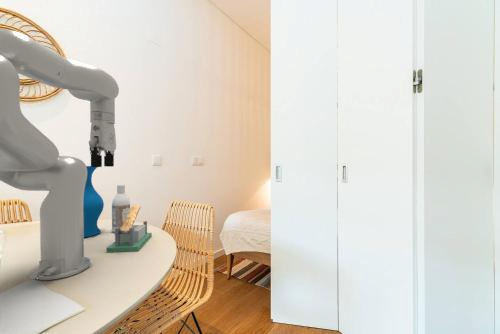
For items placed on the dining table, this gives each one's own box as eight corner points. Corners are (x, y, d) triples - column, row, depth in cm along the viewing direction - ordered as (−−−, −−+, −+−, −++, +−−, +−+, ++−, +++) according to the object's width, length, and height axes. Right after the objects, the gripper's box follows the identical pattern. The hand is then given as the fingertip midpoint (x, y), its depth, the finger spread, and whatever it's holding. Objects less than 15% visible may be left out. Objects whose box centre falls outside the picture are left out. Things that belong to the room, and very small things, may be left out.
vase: (110, 231, 103) (110, 166, 102) (84, 240, 91) (83, 166, 90) (88, 229, 106) (87, 165, 105) (59, 238, 94) (58, 166, 93)
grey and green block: (138, 251, 81) (138, 229, 81) (106, 252, 80) (106, 230, 80) (151, 236, 97) (151, 217, 97) (125, 237, 96) (125, 218, 95)
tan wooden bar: (129, 234, 82) (129, 232, 82) (119, 235, 82) (118, 232, 81) (141, 207, 94) (140, 204, 93) (132, 207, 94) (131, 205, 93)
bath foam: (119, 234, 99) (119, 185, 99) (108, 232, 102) (107, 185, 102) (133, 229, 106) (133, 184, 105) (122, 227, 108) (122, 183, 108)
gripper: (102, 114, 78) (103, 167, 78) (123, 123, 95) (123, 166, 96) (77, 113, 77) (78, 167, 77) (102, 122, 94) (102, 166, 95)
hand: (103, 166), depth 87 cm, fingers open, 9 cm apart
